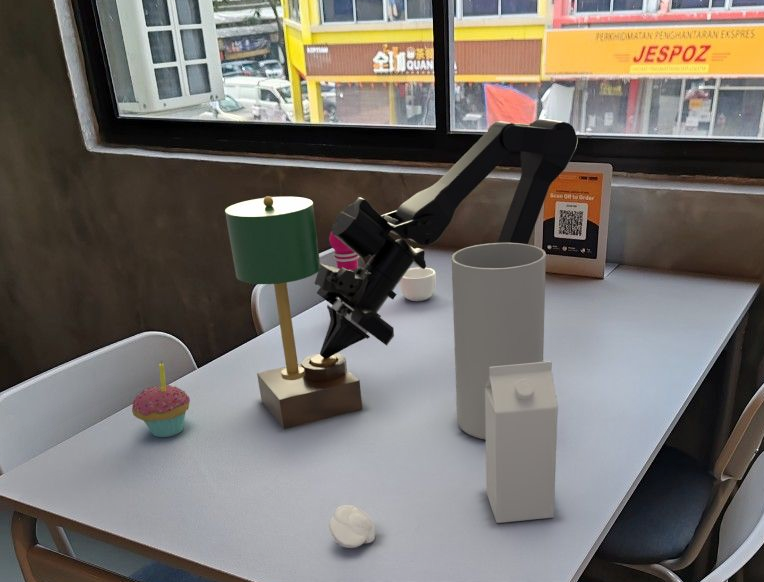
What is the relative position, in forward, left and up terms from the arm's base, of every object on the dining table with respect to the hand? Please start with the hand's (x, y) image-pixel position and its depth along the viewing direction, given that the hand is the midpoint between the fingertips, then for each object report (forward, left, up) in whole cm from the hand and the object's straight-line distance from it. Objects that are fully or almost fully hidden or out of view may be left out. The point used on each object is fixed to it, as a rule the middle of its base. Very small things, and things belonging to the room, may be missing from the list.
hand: (322, 356), depth 130 cm
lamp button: (0, 0, -2) cm, 2 cm away
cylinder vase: (-29, -1, -8) cm, 30 cm away
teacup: (+7, -53, -8) cm, 54 cm away
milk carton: (-39, +20, -8) cm, 45 cm away
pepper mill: (+15, -37, -8) cm, 41 cm away
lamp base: (+2, +2, -8) cm, 8 cm away
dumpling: (-23, +34, -8) cm, 42 cm away
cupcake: (+19, +17, -8) cm, 27 cm away
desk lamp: (+2, +6, -1) cm, 7 cm away
